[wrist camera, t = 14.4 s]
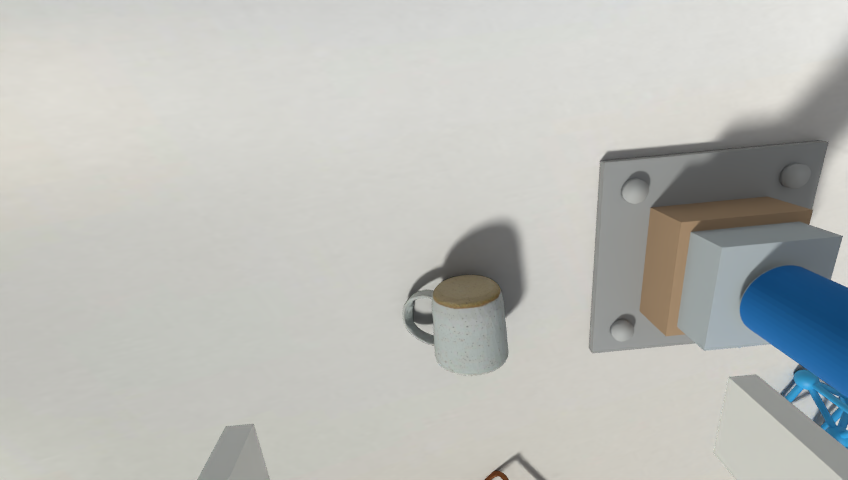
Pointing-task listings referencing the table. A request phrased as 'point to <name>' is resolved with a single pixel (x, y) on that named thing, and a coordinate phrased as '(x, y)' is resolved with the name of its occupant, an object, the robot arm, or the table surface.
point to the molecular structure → (814, 386)
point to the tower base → (673, 191)
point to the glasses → (497, 473)
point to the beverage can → (802, 320)
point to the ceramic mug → (464, 324)
